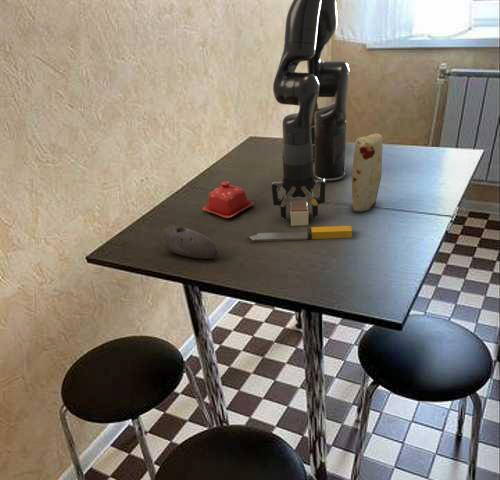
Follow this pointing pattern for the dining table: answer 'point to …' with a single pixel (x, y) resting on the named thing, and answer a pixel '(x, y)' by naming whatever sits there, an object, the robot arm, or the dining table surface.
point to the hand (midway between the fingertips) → (299, 217)
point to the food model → (366, 171)
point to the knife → (306, 234)
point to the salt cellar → (299, 213)
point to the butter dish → (227, 200)
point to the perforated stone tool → (188, 243)
